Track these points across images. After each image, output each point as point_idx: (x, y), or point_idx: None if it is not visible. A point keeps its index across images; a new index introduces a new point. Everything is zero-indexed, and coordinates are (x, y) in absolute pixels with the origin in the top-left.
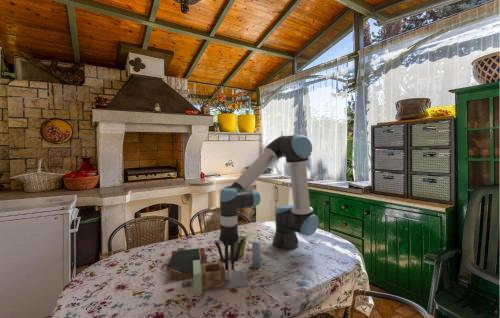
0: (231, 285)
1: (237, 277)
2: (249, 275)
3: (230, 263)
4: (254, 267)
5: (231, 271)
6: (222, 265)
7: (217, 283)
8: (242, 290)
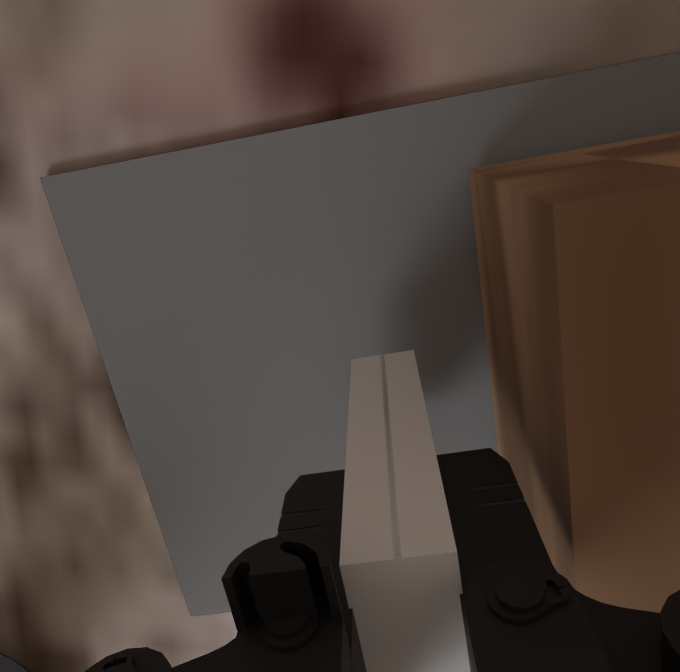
0: (359, 198)
1: (254, 435)
2: (65, 480)
3: (377, 584)
4: (7, 662)
5: (351, 423)
6: (608, 593)
7: (673, 141)
8: (149, 26)
